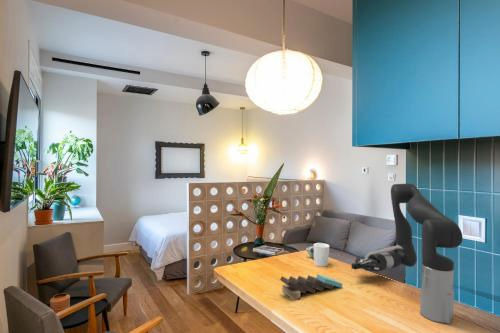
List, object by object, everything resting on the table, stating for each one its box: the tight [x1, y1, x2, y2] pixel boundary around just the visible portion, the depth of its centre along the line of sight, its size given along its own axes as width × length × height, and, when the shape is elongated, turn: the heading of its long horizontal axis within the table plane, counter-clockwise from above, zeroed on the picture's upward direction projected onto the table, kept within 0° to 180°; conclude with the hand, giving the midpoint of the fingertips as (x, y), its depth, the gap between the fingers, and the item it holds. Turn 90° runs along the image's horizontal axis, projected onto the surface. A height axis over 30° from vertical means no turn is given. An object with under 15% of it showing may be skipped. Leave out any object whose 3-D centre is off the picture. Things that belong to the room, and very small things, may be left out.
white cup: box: [313, 242, 330, 268], centre depth 151 cm, size 8×8×10 cm
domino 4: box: [306, 274, 335, 290], centre depth 122 cm, size 2×5×10 cm
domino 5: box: [315, 273, 343, 288], centre depth 124 cm, size 2×5×10 cm
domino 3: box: [297, 275, 325, 292], centre depth 120 cm, size 2×5×10 cm
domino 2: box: [288, 275, 316, 294], centre depth 118 cm, size 2×5×10 cm
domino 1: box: [279, 275, 308, 295], centre depth 116 cm, size 2×5×10 cm
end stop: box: [281, 283, 301, 301], centre depth 116 cm, size 3×8×2 cm, turn 26°
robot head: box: [305, 245, 314, 259], centre depth 160 cm, size 8×4×7 cm, turn 72°
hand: (352, 266), depth 129 cm, fingers closed
